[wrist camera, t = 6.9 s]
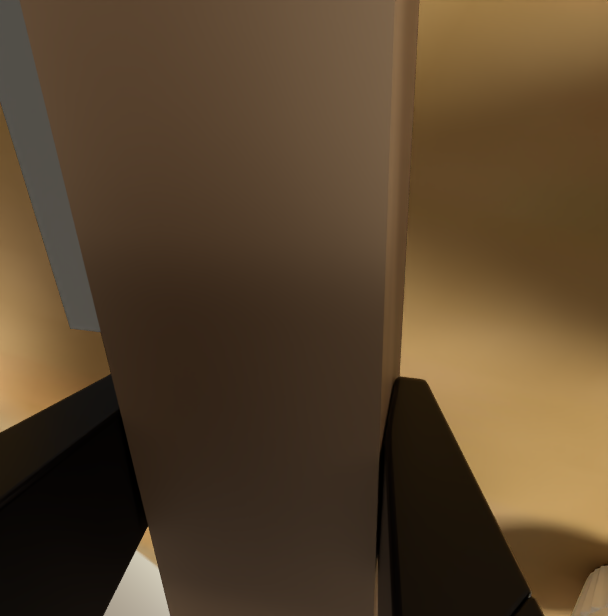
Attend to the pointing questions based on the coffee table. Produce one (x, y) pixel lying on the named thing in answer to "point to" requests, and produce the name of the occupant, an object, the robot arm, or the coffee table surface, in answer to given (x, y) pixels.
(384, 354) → the turner
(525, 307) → the coffee table surface
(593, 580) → the muffin
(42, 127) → the rest board
